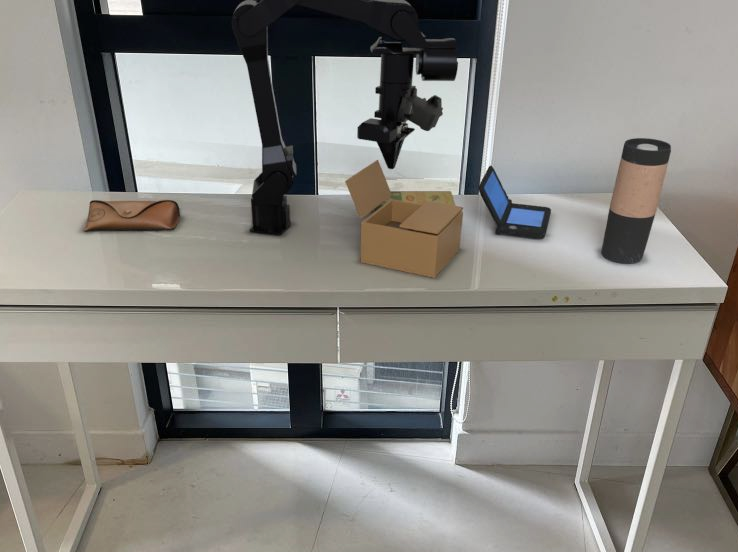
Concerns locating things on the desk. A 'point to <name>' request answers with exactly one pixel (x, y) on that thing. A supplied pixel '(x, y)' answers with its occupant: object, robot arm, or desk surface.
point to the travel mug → (635, 199)
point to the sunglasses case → (132, 215)
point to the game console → (512, 210)
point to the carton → (420, 197)
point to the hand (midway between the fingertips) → (391, 168)
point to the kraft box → (412, 236)
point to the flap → (368, 188)
